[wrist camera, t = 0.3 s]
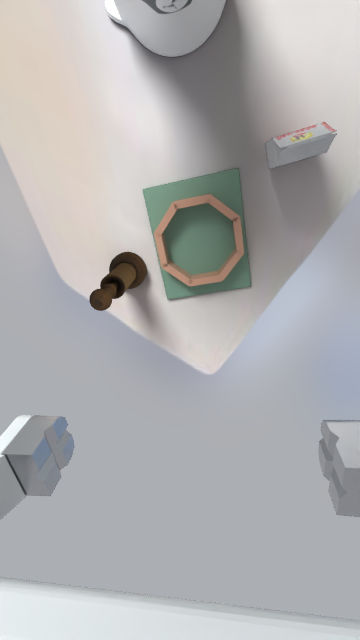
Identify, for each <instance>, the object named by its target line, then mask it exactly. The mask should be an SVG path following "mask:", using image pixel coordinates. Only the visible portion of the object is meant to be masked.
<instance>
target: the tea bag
mask: <svg viewBox="0 0 360 640" xmlns="http://www.w3.org/2000/svg"><path fill="white" fill-rule="evenodd" d="M335 131H337V130H334V129H332V128H331V127H330V126H329V125H327V124H326V123H325V122H322V123H319V124H316V125H313V126H310V127H307V128H303V129H300V130H297V131H294V132H291V133H288V134H284V135H281V136H278V137H275V138H272V139H271V140H270V141H268V142H267V143H265V145H266V152H267V159H268V166H269V169H271V168H275V167H279V166H282V165H286V164H289V163H292V162H296V161H299V160H302V159H306V158H309V157H312V156H316V155H319V154H323V153H326V152H327V150H328V148H329V146H330V144H331V142H332V140H333V139H334V137H335V136H336V135H337V134H331V133H333V132H335Z"/></svg>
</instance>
